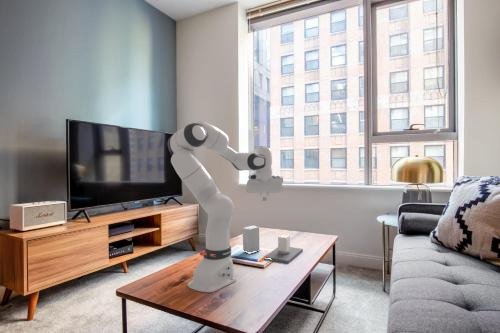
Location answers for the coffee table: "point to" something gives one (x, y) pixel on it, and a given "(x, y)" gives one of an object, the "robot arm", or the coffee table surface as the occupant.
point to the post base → (284, 255)
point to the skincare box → (251, 238)
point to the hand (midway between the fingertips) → (264, 200)
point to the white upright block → (284, 243)
